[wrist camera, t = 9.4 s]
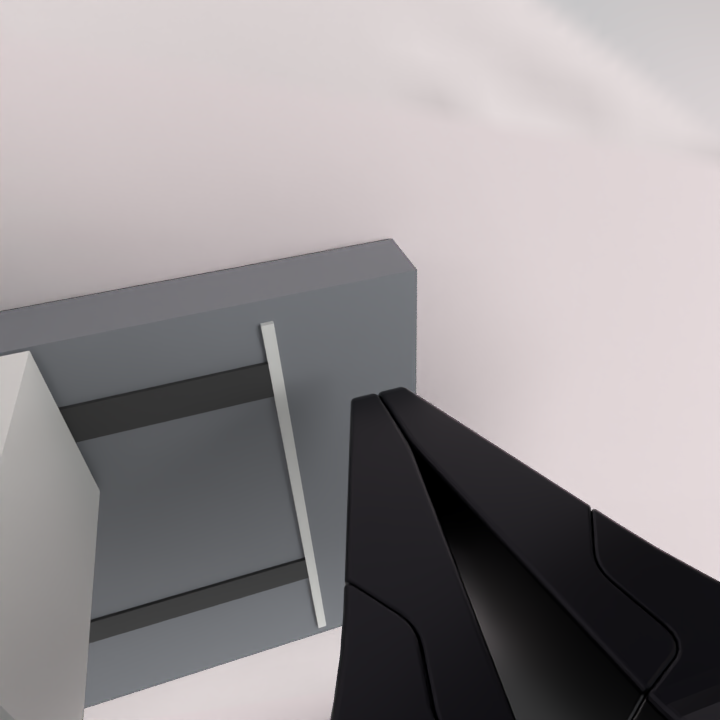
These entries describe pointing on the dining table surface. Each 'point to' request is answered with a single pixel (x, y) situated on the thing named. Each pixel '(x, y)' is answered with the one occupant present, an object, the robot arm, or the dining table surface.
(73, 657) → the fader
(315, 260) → the console
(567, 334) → the dining table surface
